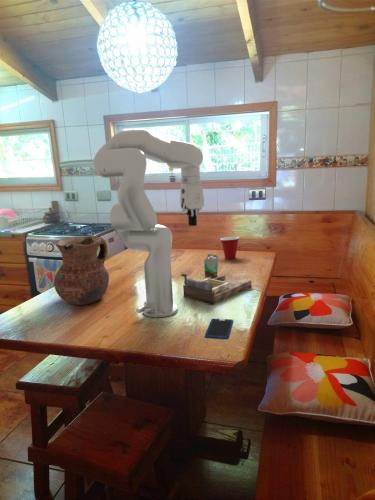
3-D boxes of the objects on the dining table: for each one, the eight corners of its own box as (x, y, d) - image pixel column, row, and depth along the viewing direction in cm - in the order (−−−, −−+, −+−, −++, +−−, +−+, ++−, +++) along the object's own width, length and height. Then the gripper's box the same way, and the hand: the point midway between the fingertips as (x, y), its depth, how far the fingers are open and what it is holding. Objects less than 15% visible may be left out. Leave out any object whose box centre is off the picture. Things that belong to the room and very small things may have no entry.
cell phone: (233, 321, 120) (233, 319, 119) (228, 340, 106) (228, 338, 106) (211, 320, 121) (211, 318, 121) (204, 338, 108) (203, 336, 108)
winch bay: (211, 305, 133) (210, 281, 131) (180, 297, 144) (179, 274, 142) (251, 287, 152) (251, 265, 150) (221, 280, 163) (221, 260, 161)
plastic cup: (229, 254, 212) (228, 234, 209) (243, 257, 204) (243, 236, 201) (216, 258, 205) (215, 237, 202) (230, 261, 197) (230, 239, 194)
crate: (211, 298, 136) (211, 289, 136) (190, 293, 144) (190, 284, 143) (229, 290, 144) (229, 282, 143) (208, 286, 151) (207, 278, 151)
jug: (89, 311, 133) (82, 245, 128) (44, 306, 140) (36, 244, 135) (120, 292, 153) (115, 234, 148) (79, 288, 160) (73, 233, 155)
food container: (218, 281, 162) (217, 259, 160) (204, 281, 164) (203, 259, 161) (221, 273, 174) (220, 253, 172) (208, 273, 175) (207, 253, 173)
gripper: (184, 181, 138) (187, 228, 142) (209, 179, 149) (211, 223, 152) (171, 181, 143) (173, 227, 147) (196, 180, 154) (197, 222, 157)
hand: (192, 225), depth 150 cm, fingers closed
